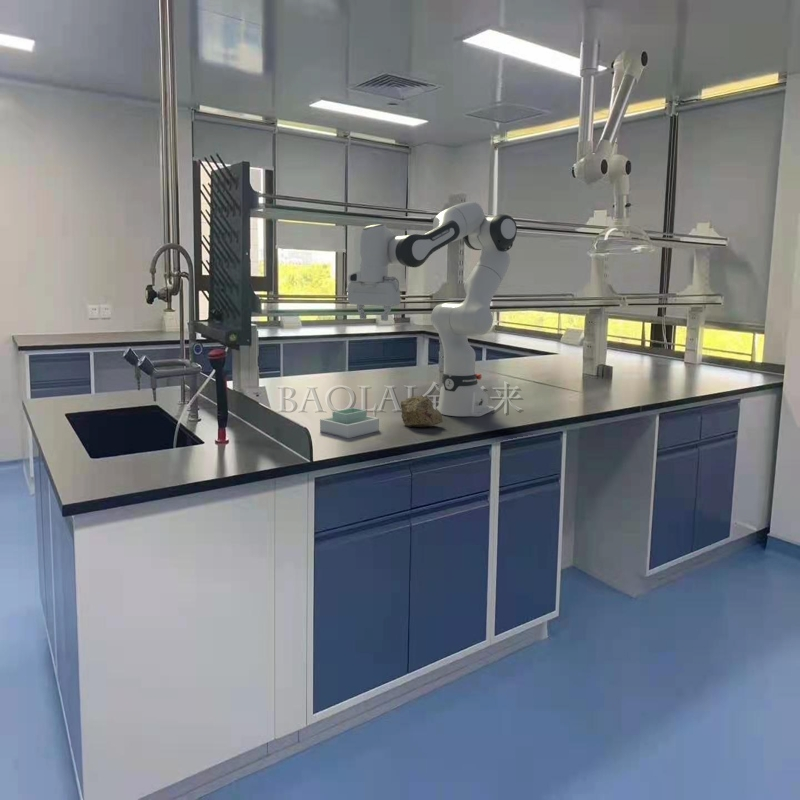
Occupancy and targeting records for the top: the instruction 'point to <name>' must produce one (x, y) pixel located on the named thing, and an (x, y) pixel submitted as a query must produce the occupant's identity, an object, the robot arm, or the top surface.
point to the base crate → (349, 427)
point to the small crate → (350, 415)
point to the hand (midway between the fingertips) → (373, 319)
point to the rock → (419, 412)
